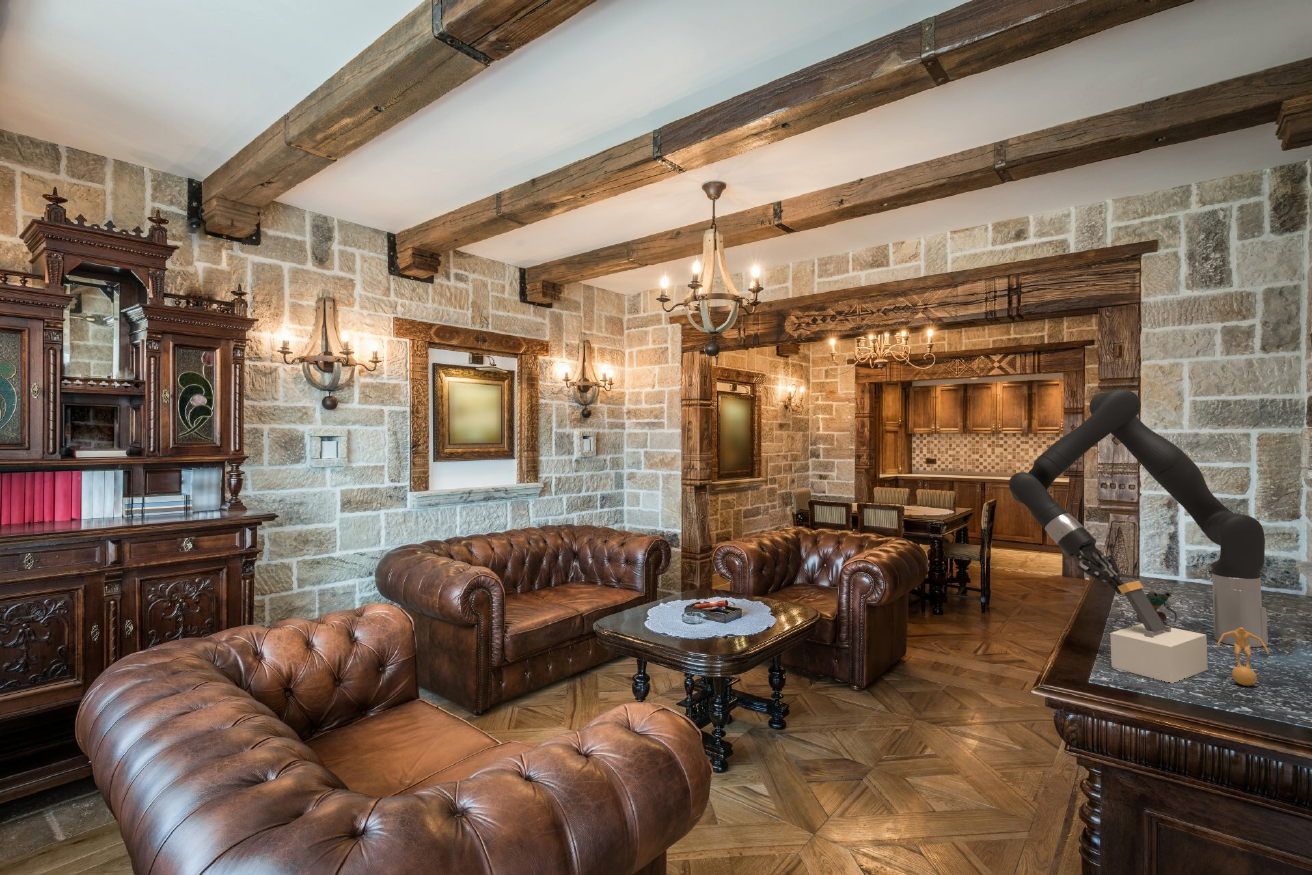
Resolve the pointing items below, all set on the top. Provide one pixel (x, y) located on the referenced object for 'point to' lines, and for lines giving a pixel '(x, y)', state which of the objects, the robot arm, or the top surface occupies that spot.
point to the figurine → (1245, 673)
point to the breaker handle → (1142, 606)
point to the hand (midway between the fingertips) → (1124, 591)
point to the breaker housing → (1159, 652)
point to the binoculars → (1159, 604)
